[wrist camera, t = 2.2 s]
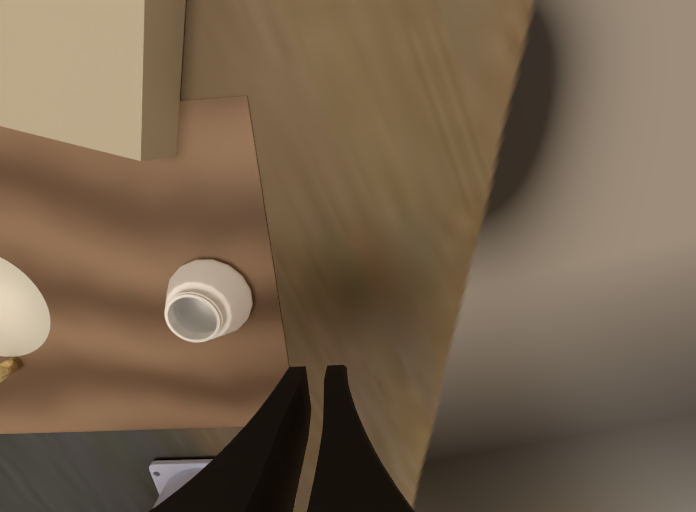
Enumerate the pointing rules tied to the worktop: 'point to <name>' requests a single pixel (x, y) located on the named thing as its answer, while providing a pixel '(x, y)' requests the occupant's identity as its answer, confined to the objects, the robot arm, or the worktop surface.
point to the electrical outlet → (94, 73)
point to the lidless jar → (206, 300)
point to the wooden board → (132, 280)
